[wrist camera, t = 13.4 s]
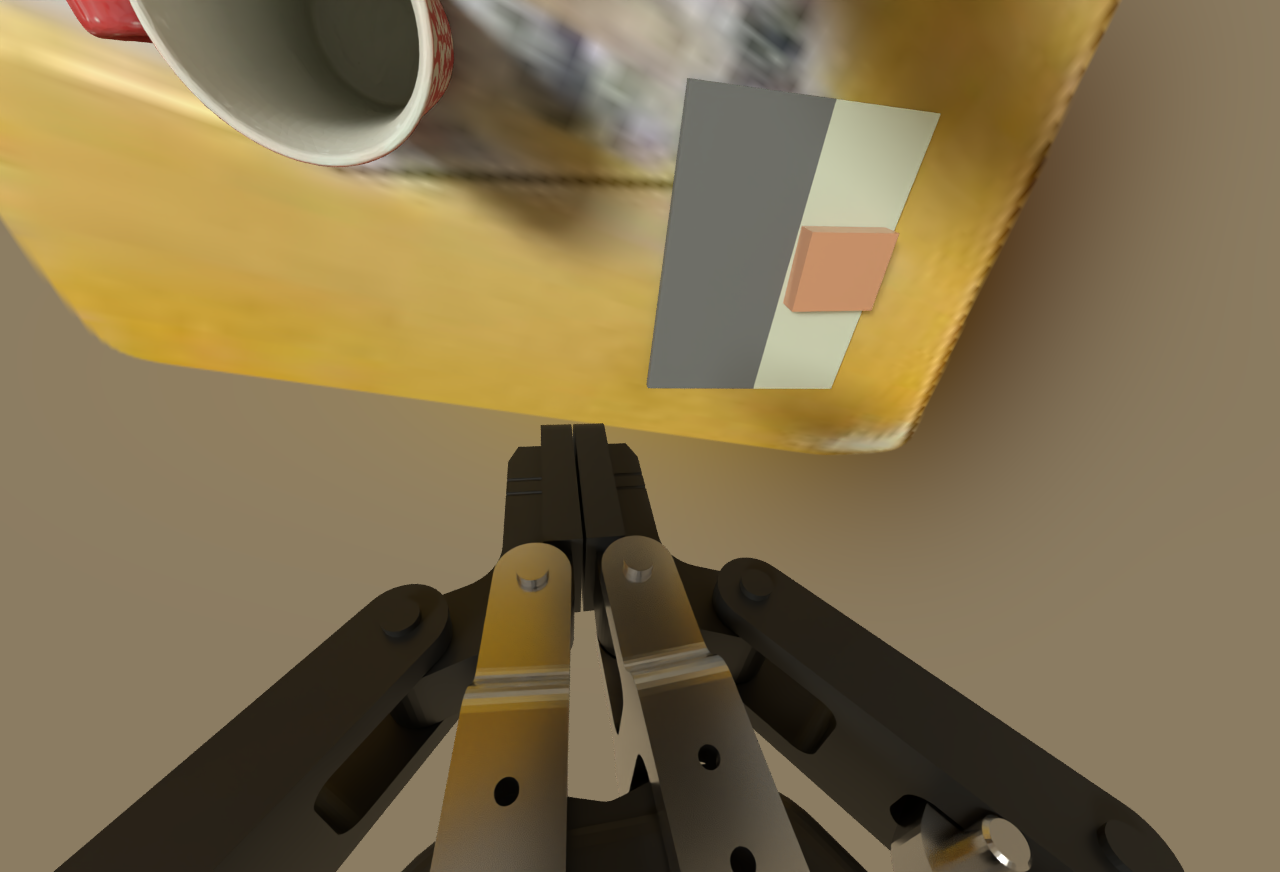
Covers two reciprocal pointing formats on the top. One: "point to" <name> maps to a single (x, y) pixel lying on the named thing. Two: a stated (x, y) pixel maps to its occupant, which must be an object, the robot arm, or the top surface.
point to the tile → (838, 268)
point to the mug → (298, 66)
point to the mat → (769, 229)
